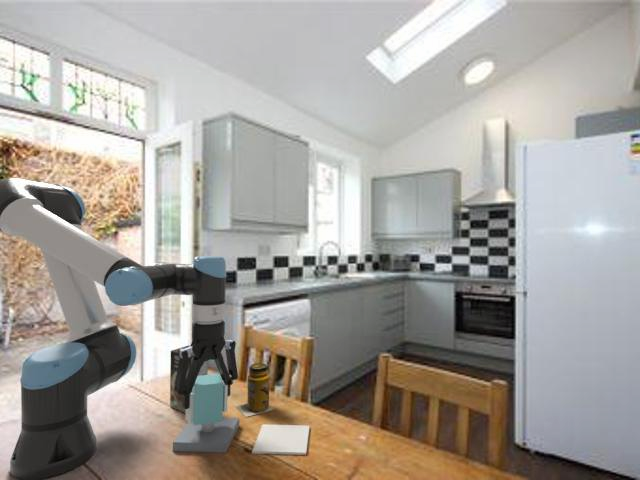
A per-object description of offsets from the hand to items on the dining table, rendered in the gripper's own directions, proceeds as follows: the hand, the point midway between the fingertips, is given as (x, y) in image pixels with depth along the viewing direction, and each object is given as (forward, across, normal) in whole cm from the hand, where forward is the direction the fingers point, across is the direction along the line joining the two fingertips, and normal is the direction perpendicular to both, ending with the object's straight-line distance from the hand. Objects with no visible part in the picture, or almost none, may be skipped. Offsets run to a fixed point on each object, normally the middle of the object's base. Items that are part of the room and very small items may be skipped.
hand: (206, 415), depth 90 cm
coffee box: (+6, +4, +19) cm, 20 cm away
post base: (+5, 0, 0) cm, 5 cm away
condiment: (+6, +17, +5) cm, 19 cm away
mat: (+5, +13, -13) cm, 19 cm away
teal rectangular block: (0, 0, 0) cm, 0 cm away
